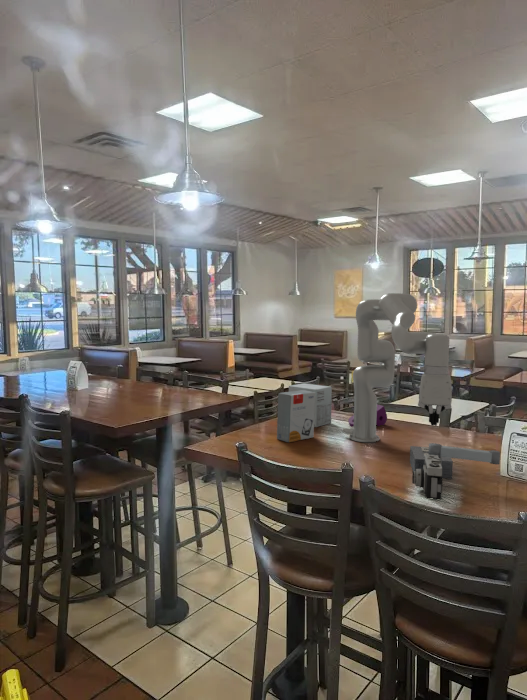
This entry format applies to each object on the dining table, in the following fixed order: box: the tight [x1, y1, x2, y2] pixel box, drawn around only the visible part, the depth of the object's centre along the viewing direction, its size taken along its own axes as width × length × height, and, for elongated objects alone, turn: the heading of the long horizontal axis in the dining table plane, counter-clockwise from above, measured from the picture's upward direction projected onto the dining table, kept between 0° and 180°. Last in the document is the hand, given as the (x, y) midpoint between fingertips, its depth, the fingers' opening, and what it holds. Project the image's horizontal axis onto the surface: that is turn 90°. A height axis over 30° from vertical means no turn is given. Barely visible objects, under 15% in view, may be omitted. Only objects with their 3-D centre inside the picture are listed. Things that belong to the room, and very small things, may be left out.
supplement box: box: [288, 383, 333, 428], centre depth 243 cm, size 17×13×18 cm
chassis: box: [409, 445, 454, 480], centre depth 173 cm, size 12×19×8 cm, turn 169°
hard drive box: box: [276, 390, 315, 443], centre depth 214 cm, size 16×8×20 cm, turn 131°
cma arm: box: [428, 442, 501, 465], centre depth 161 cm, size 4×21×4 cm, turn 67°
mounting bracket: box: [347, 404, 388, 428], centre depth 241 cm, size 10×8×18 cm
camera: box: [411, 455, 443, 500], centre depth 155 cm, size 14×8×10 cm, turn 165°
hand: (433, 424), depth 169 cm, fingers closed
